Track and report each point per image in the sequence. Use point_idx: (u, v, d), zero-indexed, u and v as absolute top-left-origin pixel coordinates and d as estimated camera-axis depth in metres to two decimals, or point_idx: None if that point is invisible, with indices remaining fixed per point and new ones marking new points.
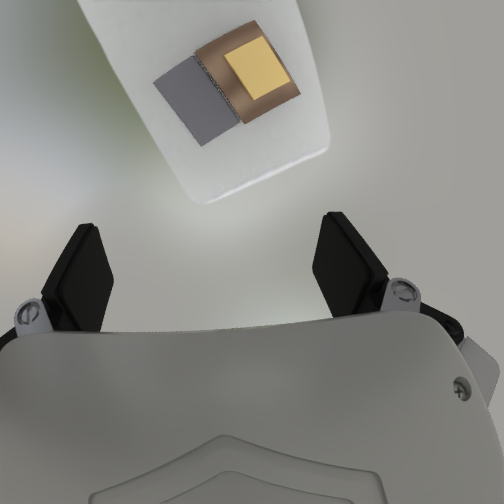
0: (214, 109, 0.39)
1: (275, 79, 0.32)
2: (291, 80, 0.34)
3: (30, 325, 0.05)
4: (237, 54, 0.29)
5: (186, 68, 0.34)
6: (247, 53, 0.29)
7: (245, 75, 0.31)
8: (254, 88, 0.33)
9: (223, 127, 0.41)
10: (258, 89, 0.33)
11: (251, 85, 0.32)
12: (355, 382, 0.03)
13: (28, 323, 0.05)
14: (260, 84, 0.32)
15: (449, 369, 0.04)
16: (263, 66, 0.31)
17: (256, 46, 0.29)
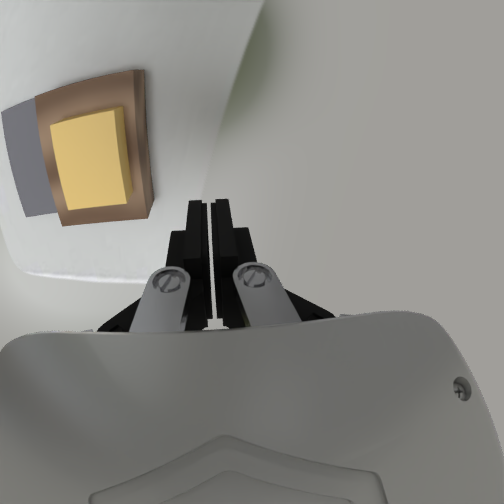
0: (47, 180, 0.23)
1: (104, 192, 0.20)
2: (141, 194, 0.23)
3: (162, 294, 0.07)
4: (66, 130, 0.16)
5: (35, 109, 0.18)
6: (79, 134, 0.16)
7: (66, 169, 0.18)
8: (72, 194, 0.19)
9: (51, 207, 0.25)
10: (77, 197, 0.19)
11: (69, 188, 0.19)
12: (355, 382, 0.04)
13: (162, 290, 0.07)
14: (81, 191, 0.19)
15: (449, 369, 0.04)
16: (94, 165, 0.18)
17: (97, 126, 0.16)
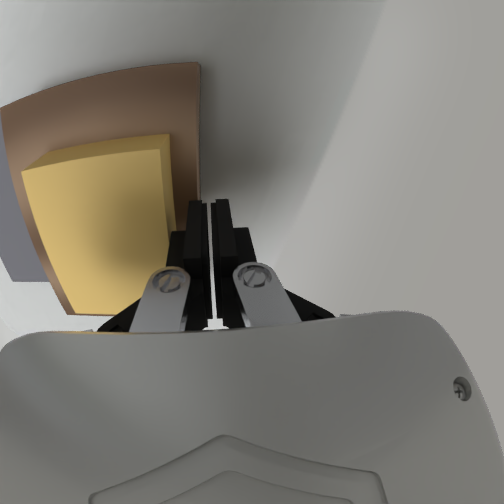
0: None
1: (140, 297, 0.12)
2: None
3: (162, 294, 0.07)
4: (53, 185, 0.08)
5: None
6: (82, 194, 0.08)
7: (62, 255, 0.10)
8: (79, 293, 0.11)
9: (46, 275, 0.17)
10: (89, 299, 0.12)
11: (73, 284, 0.11)
12: (355, 382, 0.04)
13: (162, 290, 0.07)
14: (96, 292, 0.11)
15: (449, 369, 0.04)
16: (117, 254, 0.10)
17: (119, 182, 0.08)
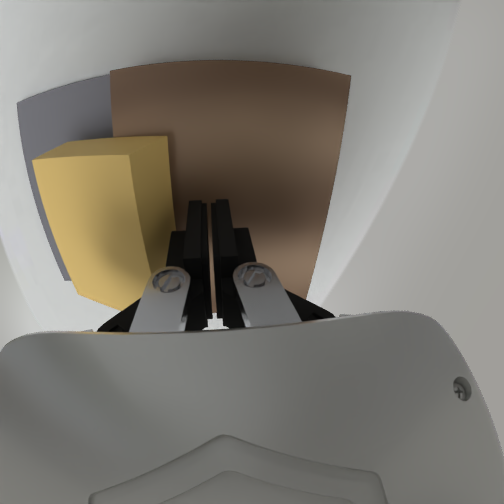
0: None
1: (127, 298, 0.12)
2: (308, 276, 0.16)
3: (162, 294, 0.07)
4: (53, 177, 0.08)
5: (89, 102, 0.11)
6: (73, 190, 0.09)
7: (64, 241, 0.11)
8: (79, 278, 0.12)
9: None
10: (87, 286, 0.12)
11: (74, 269, 0.12)
12: (355, 382, 0.04)
13: (162, 290, 0.07)
14: (92, 281, 0.12)
15: (449, 369, 0.04)
16: (104, 253, 0.10)
17: (99, 184, 0.08)
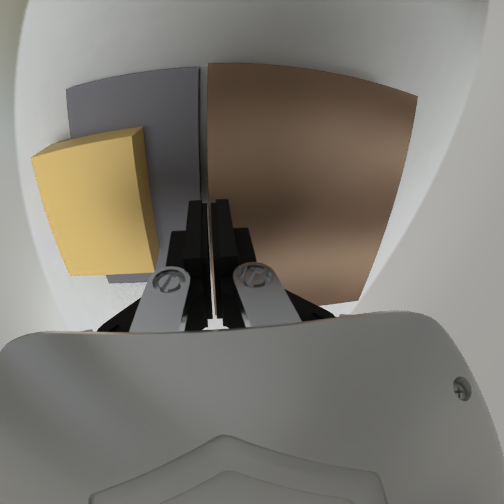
0: (167, 231, 0.17)
1: None
2: (366, 273, 0.17)
3: (162, 294, 0.07)
4: None
5: (159, 94, 0.12)
6: None
7: None
8: None
9: None
10: None
11: None
12: (355, 382, 0.03)
13: (162, 290, 0.07)
14: None
15: (449, 369, 0.04)
16: None
17: None
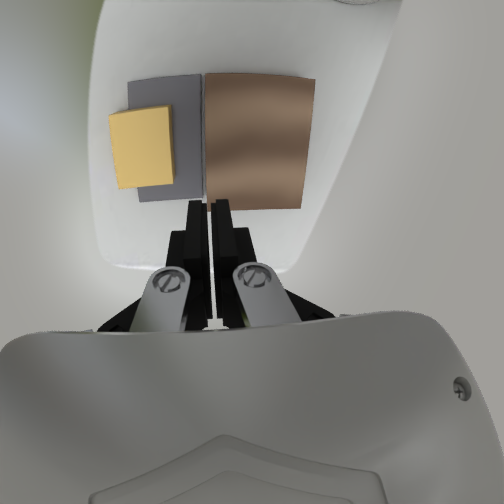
0: (181, 164, 0.28)
1: None
2: (301, 186, 0.28)
3: (162, 294, 0.07)
4: None
5: (180, 88, 0.23)
6: None
7: None
8: None
9: (179, 193, 0.30)
10: None
11: None
12: (355, 382, 0.04)
13: (162, 290, 0.07)
14: None
15: (449, 369, 0.04)
16: None
17: None
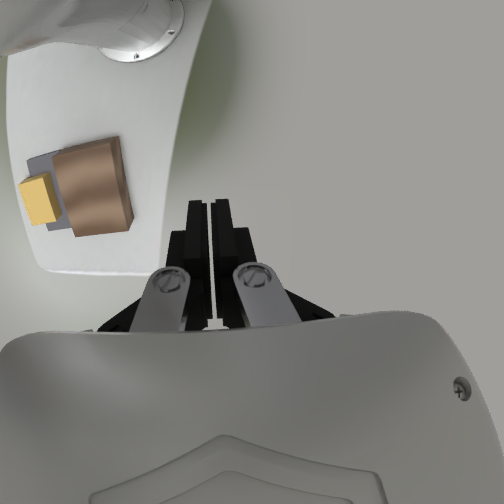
0: (63, 207, 0.37)
1: None
2: (123, 216, 0.37)
3: (162, 294, 0.07)
4: None
5: (51, 161, 0.32)
6: None
7: None
8: None
9: (66, 224, 0.39)
10: None
11: None
12: (355, 382, 0.04)
13: (162, 290, 0.07)
14: None
15: (449, 369, 0.04)
16: None
17: None
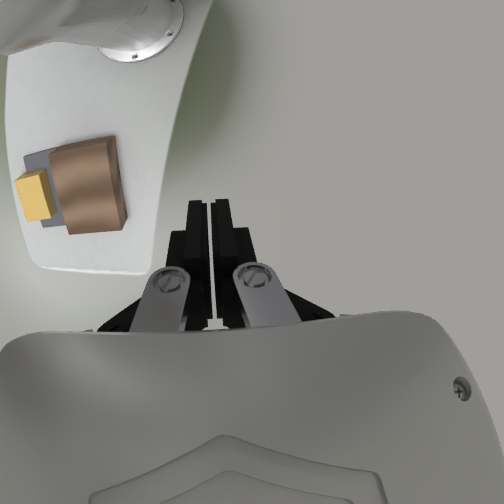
0: (58, 204, 0.37)
1: None
2: (116, 215, 0.37)
3: (162, 294, 0.07)
4: None
5: (47, 158, 0.32)
6: None
7: None
8: None
9: (61, 221, 0.39)
10: None
11: None
12: (355, 382, 0.04)
13: (162, 290, 0.07)
14: None
15: (449, 369, 0.04)
16: None
17: None
